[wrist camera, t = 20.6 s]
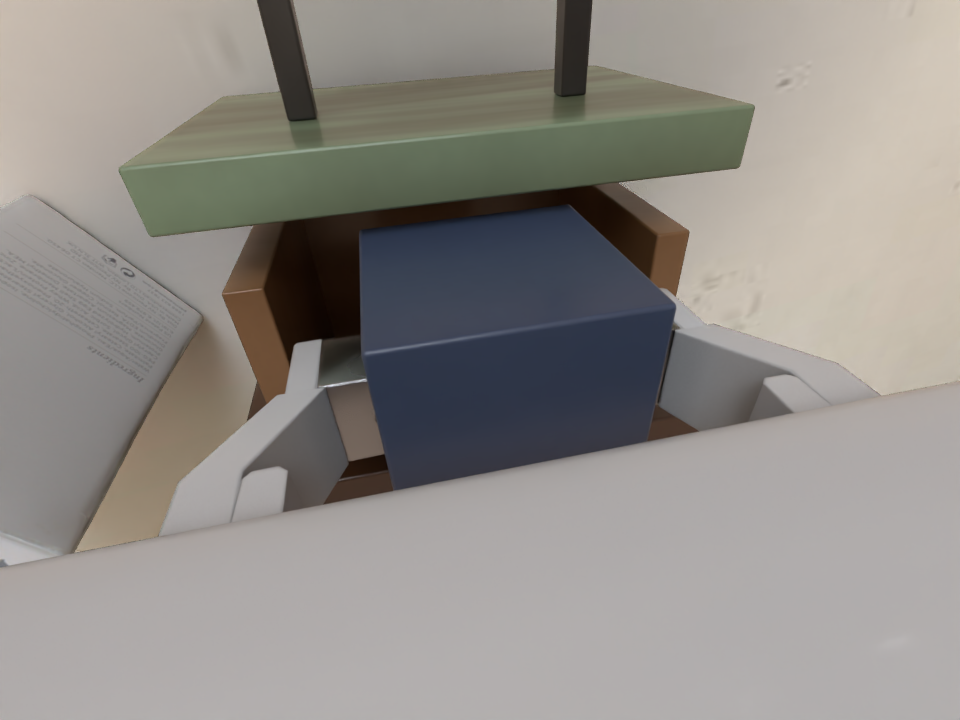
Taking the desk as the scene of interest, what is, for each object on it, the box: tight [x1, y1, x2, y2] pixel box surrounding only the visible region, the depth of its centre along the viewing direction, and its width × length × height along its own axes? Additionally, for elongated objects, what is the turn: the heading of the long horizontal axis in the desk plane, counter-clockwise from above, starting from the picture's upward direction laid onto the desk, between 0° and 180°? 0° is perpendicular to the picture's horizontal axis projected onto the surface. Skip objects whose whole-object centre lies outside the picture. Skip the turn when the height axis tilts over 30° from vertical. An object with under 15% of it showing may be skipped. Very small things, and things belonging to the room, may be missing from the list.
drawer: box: [119, 0, 755, 404], centre depth 14 cm, size 18×11×8 cm, turn 3°
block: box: [359, 204, 676, 491], centre depth 10 cm, size 4×4×4 cm
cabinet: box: [247, 381, 699, 505], centre depth 20 cm, size 15×13×10 cm
